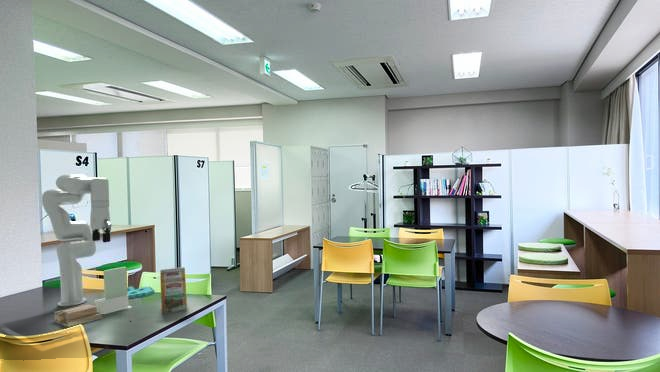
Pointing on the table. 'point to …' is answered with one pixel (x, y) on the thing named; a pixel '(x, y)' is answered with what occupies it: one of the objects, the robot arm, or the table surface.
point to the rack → (78, 321)
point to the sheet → (115, 283)
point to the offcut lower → (76, 318)
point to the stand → (112, 304)
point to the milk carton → (173, 290)
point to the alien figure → (139, 292)
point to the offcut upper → (79, 311)
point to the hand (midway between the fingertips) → (101, 241)
